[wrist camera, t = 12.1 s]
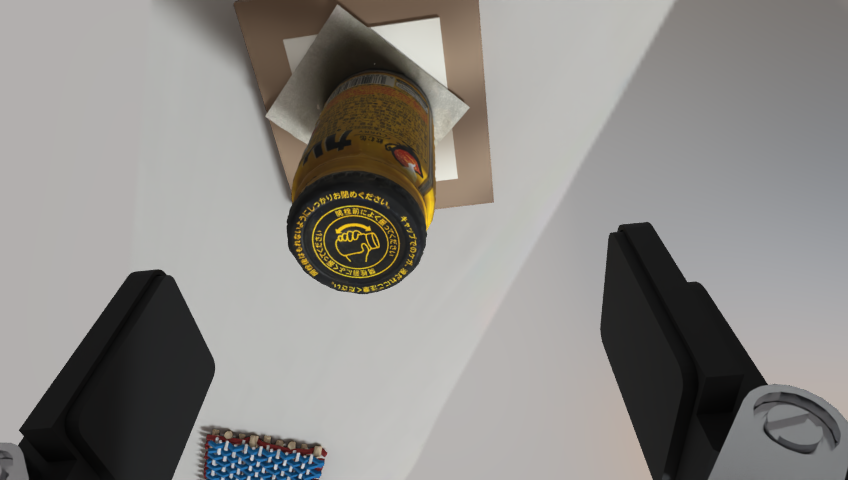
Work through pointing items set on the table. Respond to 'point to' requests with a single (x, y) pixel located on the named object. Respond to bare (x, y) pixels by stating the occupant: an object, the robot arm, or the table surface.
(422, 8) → the picture frame
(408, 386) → the table surface
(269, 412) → the table surface
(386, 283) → the condiment
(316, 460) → the woven mat
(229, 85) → the table surface
